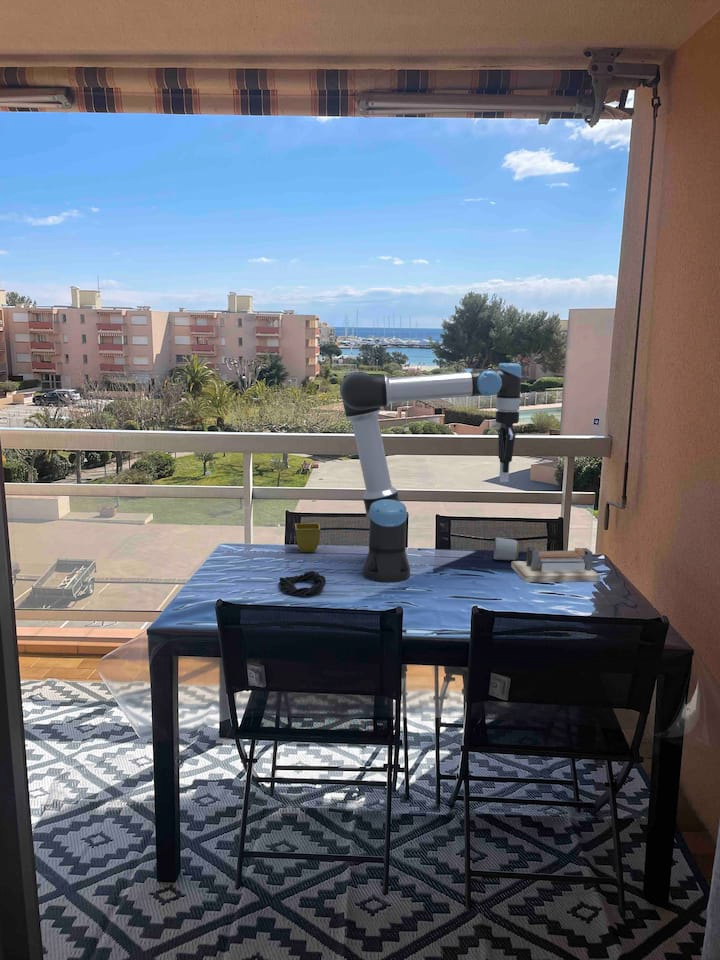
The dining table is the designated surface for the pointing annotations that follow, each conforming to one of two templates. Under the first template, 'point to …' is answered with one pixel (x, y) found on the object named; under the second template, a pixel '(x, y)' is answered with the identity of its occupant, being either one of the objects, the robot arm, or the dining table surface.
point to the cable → (308, 576)
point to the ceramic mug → (506, 549)
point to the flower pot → (307, 536)
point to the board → (552, 574)
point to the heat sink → (559, 562)
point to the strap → (561, 553)
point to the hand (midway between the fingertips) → (503, 481)
